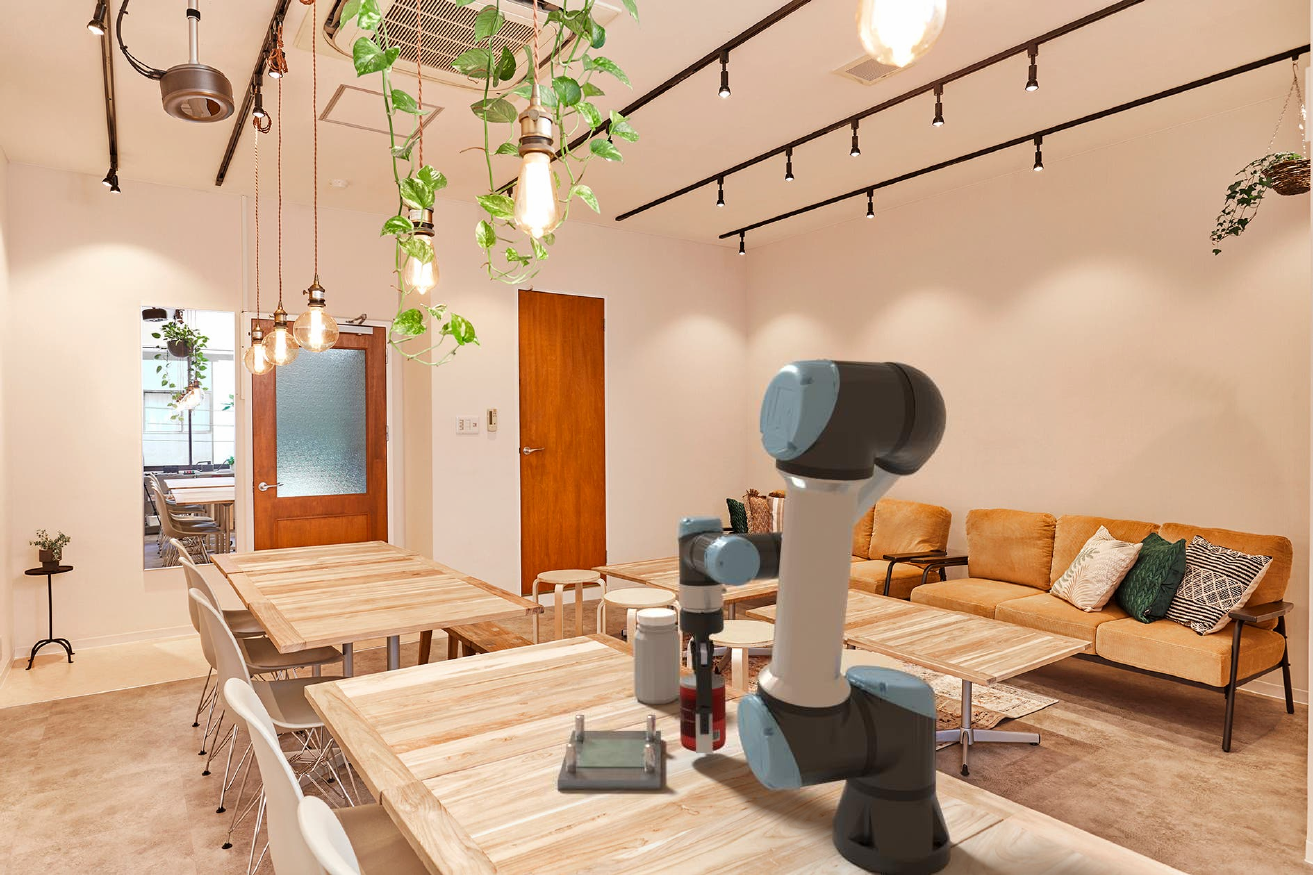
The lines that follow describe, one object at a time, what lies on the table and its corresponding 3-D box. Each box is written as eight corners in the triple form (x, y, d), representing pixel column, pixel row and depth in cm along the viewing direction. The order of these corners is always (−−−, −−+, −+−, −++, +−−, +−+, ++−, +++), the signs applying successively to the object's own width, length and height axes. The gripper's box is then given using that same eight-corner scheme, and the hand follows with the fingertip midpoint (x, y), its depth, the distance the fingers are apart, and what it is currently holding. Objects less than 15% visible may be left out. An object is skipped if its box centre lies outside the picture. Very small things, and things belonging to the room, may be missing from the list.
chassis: (660, 789, 120) (660, 754, 120) (557, 789, 120) (557, 754, 120) (660, 738, 140) (660, 708, 140) (572, 738, 140) (572, 708, 140)
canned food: (732, 739, 133) (731, 675, 134) (716, 755, 126) (715, 688, 126) (691, 732, 137) (690, 670, 137) (673, 748, 129) (672, 682, 130)
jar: (626, 693, 165) (626, 609, 165) (668, 687, 169) (668, 605, 168) (644, 708, 156) (643, 619, 156) (687, 701, 160) (687, 614, 159)
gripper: (728, 620, 121) (730, 766, 121) (719, 596, 142) (720, 721, 142) (680, 621, 122) (682, 767, 121) (678, 596, 142) (679, 721, 142)
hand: (703, 742), depth 131 cm, fingers closed on canned food, 8 cm apart
